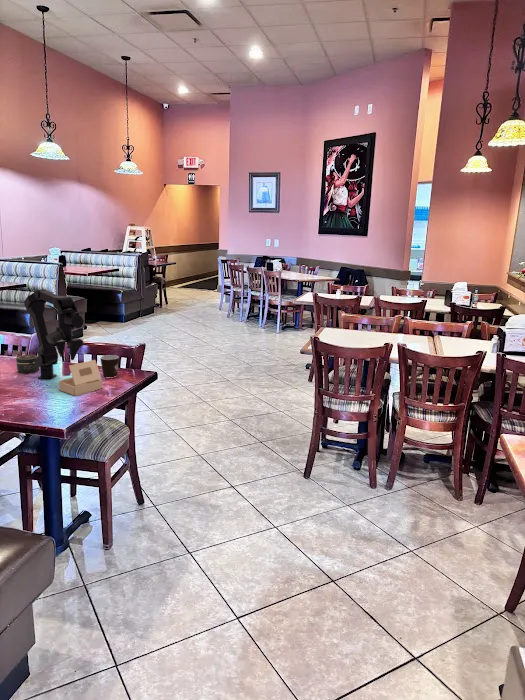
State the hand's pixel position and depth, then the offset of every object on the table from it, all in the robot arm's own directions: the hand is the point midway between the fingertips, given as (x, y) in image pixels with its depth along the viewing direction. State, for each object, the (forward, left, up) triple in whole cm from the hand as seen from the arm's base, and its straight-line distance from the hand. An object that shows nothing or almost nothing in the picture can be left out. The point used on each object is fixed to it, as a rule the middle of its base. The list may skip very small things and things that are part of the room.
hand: (66, 358), depth 228 cm
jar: (-19, -27, -13) cm, 36 cm away
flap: (+8, +12, -8) cm, 17 cm away
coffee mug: (-17, +16, -13) cm, 26 cm away
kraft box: (+5, +8, -13) cm, 16 cm away
